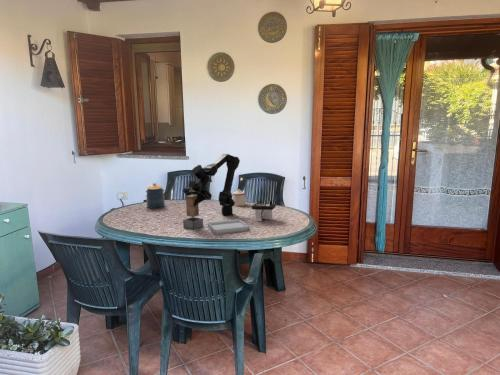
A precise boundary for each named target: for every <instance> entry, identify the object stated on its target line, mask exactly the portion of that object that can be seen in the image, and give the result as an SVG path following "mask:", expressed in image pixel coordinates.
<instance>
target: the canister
mask: <svg viewBox="0 0 500 375" xmlns="http://www.w3.org/2000/svg"><path fill="white" fill-rule="evenodd" d="M163 188H164V187H163V186H162V185H159V184H157V183H156V182H154V183H153V182H152V185H148V186H147V187H146V191H145V192H146V195H145V198H146V208H148V209H160V208H164V207H165V206H166V202H165V194H164V192H165V190H164V189H163Z"/></svg>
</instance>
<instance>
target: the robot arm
mask: <svg viewBox="0 0 500 375" xmlns="http://www.w3.org/2000/svg"><path fill="white" fill-rule="evenodd" d="M240 162H241V160H240V158H239V157H238V156H235V155H231V154H230V153H222V154H221V155H220V157H218V158H217V159H216V160H214V161H213V162H212V163H210V164H207V165H204V167H203V166H202V165H201V164H197V165H196V166H194V167H193V168H192V169H191V173H192V175H193V176H195V178H196V180H197V179H198V180H197V181H195V180H194V181H193V180H189V182H188V185H187V186H188V187H184V188H183V189H182V192H183V193H184V194H185V196H188V195H197V199H196V201H195V203H194V206H196V205H197V204H198V205H199V204H201V203H202V202H204V201H205V200H212V196H213V195H212V193H211V192H210V191H209V190H208V188H207V186H208V184H209V183H212V177H214V176H215V175H216V174H217V173H218V170H219V169H220V167H221V166H223V165H226V168H227V170H226V174H225V175H226V176H225V181H224V186H223V190H222V191H219V193H218V194H219V195H218V203H219V205H220V206H221V208H220V210H221V215H223V217H224V216H225V217H226V216H233V215H234V212H233V207H234V204H235V202H234V201H233V196H232V195H233V193H232V188H233V187H232V186H233V181H234V178H235V172H236V170H237V169H238V168H239V164H240ZM225 163H226V164H225ZM221 168H222V167H221ZM189 187H190V188H189Z"/></svg>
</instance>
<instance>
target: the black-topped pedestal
mask: <svg viewBox="0 0 500 375" xmlns="http://www.w3.org/2000/svg"><path fill="white" fill-rule="evenodd" d="M276 205H277V204H276V203H273V199H271V200H268V202H266V201H265V200H261V201H260V200H256V201H255V203H254V204H253V205H251V210H254V211H255V212H254V214H255V215H254V216H255V218H254V219H255V222H263V219H264V220H273V210H274V209H276V207H277V206H276Z"/></svg>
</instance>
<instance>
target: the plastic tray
mask: <svg viewBox="0 0 500 375" xmlns="http://www.w3.org/2000/svg"><path fill="white" fill-rule="evenodd" d="M207 228H209V230H210V231H211V232H212V233H213V234H214V235H217V236H218V235H225V234H234V233H241V232H249V231H250V226H249V225H248V224H246V223H245V222H244V221H243V220H241V219H240V218H239V219H229V220H219V221H210V222H207Z"/></svg>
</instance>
